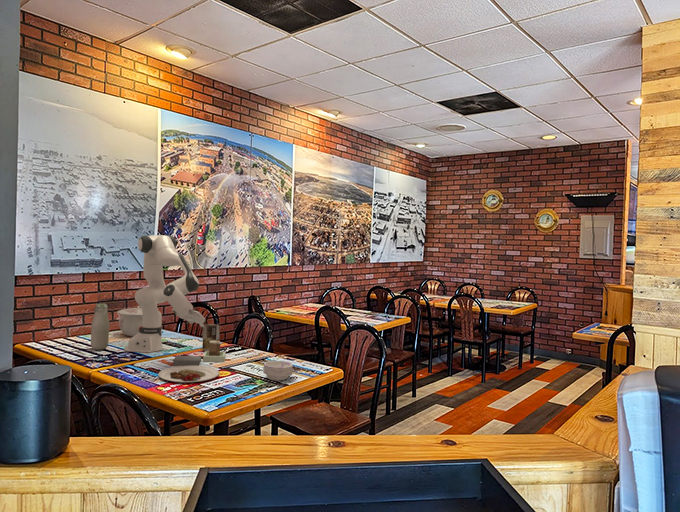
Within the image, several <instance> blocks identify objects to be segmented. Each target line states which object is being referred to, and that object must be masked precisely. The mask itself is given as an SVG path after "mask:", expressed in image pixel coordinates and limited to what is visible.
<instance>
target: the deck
mask: <svg viewBox="0 0 680 512" xmlns="http://www.w3.org/2000/svg"><path fill="white" fill-rule="evenodd" d="M201 363H202V356H200V355H176V356H174V358H173V360H172V367H176V366H188V365H196V366H201Z"/></svg>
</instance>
